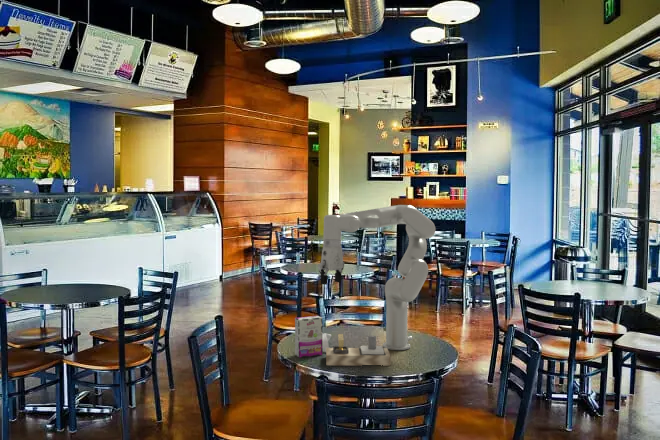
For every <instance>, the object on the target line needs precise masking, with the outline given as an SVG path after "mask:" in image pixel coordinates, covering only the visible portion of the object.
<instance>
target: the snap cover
mask: <svg viewBox="0 0 660 440" xmlns="http://www.w3.org/2000/svg"><path fill="white" fill-rule="evenodd" d="M367 339H368V340H367V341H368V342H367V345H360V348H361V353H362V354H384V350H383V348H384V347H383V345H377V336H376V335H369V336H367Z"/></svg>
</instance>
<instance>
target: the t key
mask: <svg viewBox="0 0 660 440" xmlns="http://www.w3.org/2000/svg"><path fill="white" fill-rule="evenodd" d="M337 341H338V346H339V349H336V350H346V349H343V346H345V343H344V341H345V339H344V334H343V333H338V334H337Z"/></svg>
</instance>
